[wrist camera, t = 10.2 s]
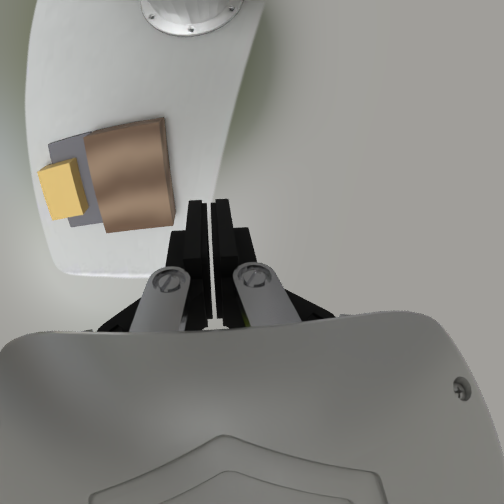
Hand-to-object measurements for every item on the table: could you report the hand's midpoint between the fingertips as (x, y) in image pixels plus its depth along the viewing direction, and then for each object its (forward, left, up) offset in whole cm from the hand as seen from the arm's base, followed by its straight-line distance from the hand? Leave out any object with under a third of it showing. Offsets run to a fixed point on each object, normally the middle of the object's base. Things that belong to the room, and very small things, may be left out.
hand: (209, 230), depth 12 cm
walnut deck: (+5, -11, -26) cm, 28 cm away
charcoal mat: (+5, -20, -26) cm, 33 cm away
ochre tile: (+5, -22, -23) cm, 32 cm away
